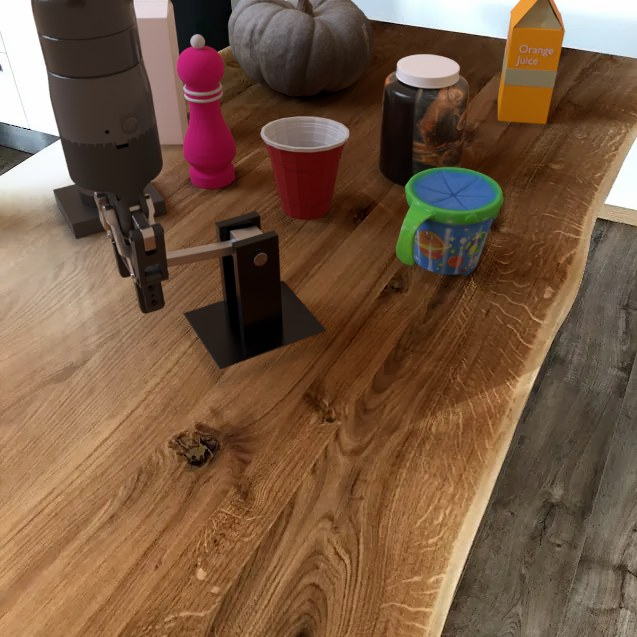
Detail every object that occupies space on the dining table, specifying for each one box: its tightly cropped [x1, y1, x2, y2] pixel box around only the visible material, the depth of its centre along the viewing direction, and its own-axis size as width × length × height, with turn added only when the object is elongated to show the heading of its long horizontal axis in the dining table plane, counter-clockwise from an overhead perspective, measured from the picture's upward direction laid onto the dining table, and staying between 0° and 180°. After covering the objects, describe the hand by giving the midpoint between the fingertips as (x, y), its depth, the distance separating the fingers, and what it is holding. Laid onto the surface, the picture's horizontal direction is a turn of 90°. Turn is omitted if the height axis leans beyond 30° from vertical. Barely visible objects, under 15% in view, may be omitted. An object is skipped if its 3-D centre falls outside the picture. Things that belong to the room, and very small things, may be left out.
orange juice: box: [497, 0, 566, 125], centre depth 114 cm, size 8×9×20 cm
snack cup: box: [395, 167, 505, 277], centre depth 84 cm, size 16×10×10 cm
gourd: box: [227, 0, 375, 97], centre depth 126 cm, size 25×25×17 cm
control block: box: [52, 181, 168, 240], centre depth 96 cm, size 12×10×4 cm
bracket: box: [183, 210, 327, 370], centre depth 74 cm, size 12×10×13 cm
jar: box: [378, 53, 470, 187], centre depth 100 cm, size 12×12×15 cm
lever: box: [119, 226, 264, 273], centre depth 68 cm, size 13×6×2 cm, turn 119°
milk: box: [134, 0, 189, 146], centre depth 107 cm, size 6×6×22 cm
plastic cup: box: [260, 115, 350, 221], centre depth 92 cm, size 11×11×12 cm
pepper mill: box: [177, 33, 237, 190], centre depth 97 cm, size 7×7×20 cm
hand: (141, 290), depth 68 cm, fingers closed on lever, 5 cm apart
